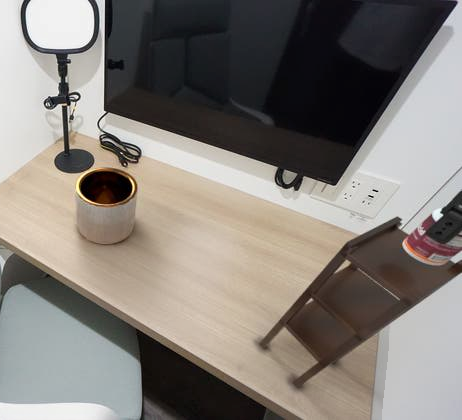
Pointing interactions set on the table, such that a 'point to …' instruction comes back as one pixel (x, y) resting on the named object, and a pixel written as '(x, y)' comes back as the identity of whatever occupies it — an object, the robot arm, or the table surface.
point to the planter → (105, 204)
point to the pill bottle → (431, 243)
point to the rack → (360, 295)
